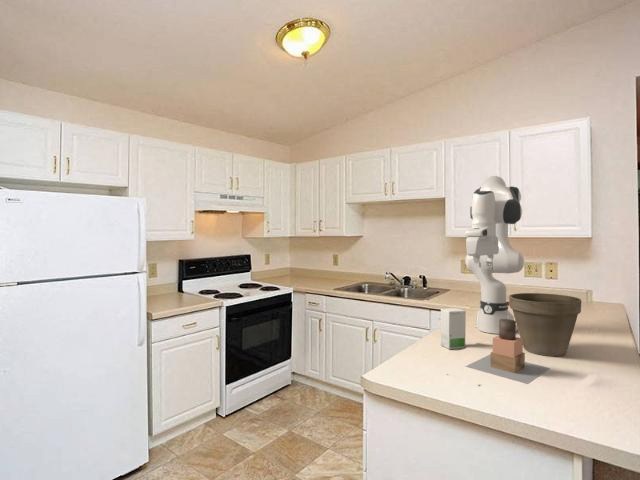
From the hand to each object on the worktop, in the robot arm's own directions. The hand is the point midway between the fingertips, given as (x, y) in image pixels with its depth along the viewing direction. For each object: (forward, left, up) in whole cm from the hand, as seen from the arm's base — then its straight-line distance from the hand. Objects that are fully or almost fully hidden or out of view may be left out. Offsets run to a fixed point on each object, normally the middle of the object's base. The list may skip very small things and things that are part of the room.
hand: (483, 266), depth 147 cm
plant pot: (-20, +15, -34) cm, 42 cm away
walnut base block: (+14, +15, -33) cm, 38 cm away
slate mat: (+14, +15, -34) cm, 40 cm away
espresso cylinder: (+14, +15, -23) cm, 30 cm away
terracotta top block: (+14, +15, -28) cm, 34 cm away
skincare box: (+2, -12, -34) cm, 36 cm away
